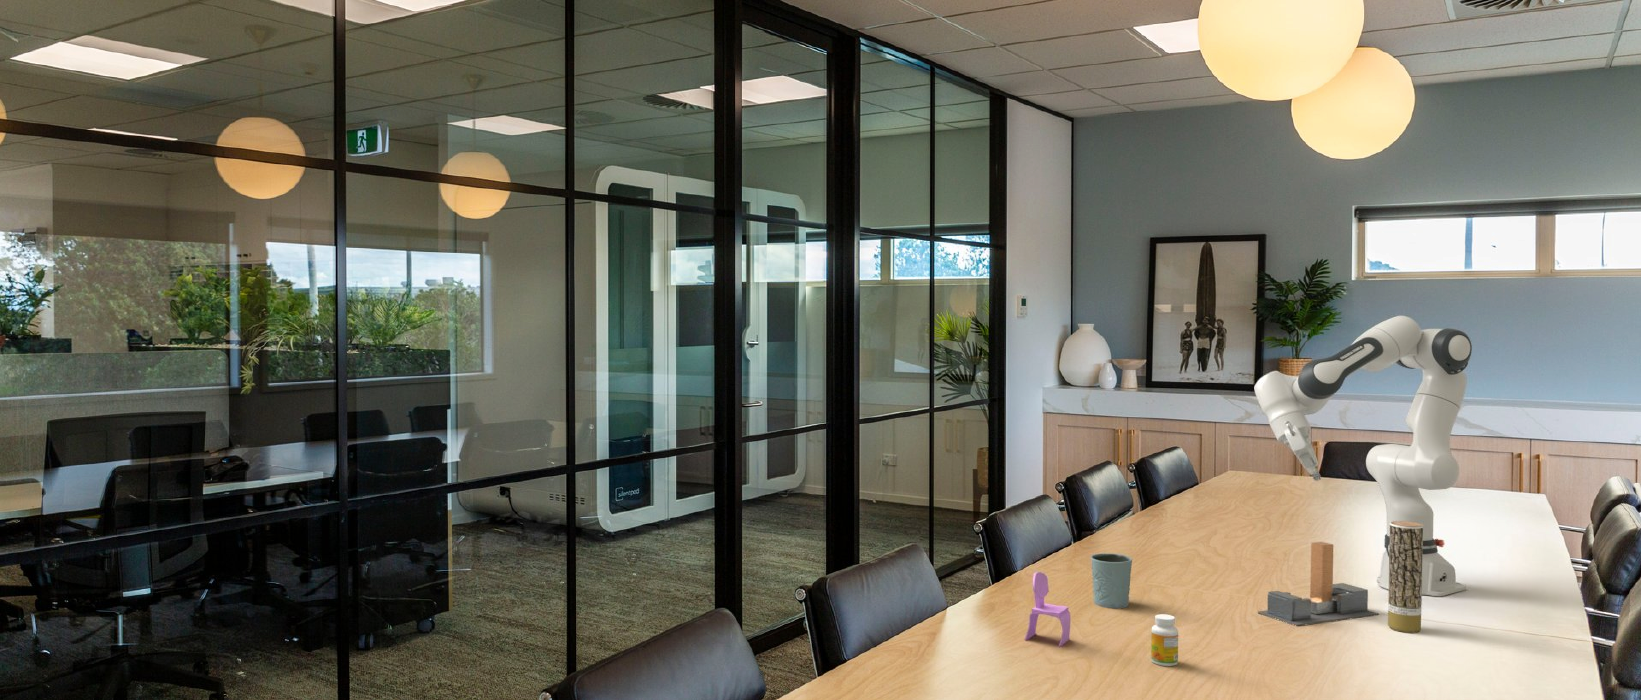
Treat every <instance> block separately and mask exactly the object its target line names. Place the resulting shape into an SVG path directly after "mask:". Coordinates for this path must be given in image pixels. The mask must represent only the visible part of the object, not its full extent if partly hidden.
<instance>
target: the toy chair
mask: <svg viewBox="0 0 1641 700" xmlns="http://www.w3.org/2000/svg"><path fill="white" fill-rule="evenodd" d="M1032 590H1033V593H1034V594H1033V595H1034V602H1035V606H1034V607H1032V608H1031V612H1030V614H1029V618H1028V622H1029V623H1028V628H1027V631H1026V634H1025V638H1024V641H1027V640H1029V639H1030V638H1032V637H1033V636H1035V635H1036V633H1037V632H1036V631H1037V623H1038V619H1039V615H1044V616H1049V617H1054V618H1057V619H1058V620H1059V622H1060V625H1061V630H1062V632H1061V637H1060V641H1059V644H1058V647H1059V648H1060V647H1062V646H1063V645H1064V644H1065V643H1067V642H1068V641H1069V640H1070V634H1071V633H1070V631H1071V612H1070V611H1069V606H1065V605H1055V604H1051V603H1045V598H1046V597H1047V595H1048V594H1049V580H1048V577H1047V574H1046V573H1044V572H1042V571H1036V572H1034V573H1033V577H1032Z"/></svg>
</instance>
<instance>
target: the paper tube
mask: <svg viewBox="0 0 1641 700" xmlns="http://www.w3.org/2000/svg"><path fill="white" fill-rule="evenodd" d="M1422 555H1423V525H1422V524H1419V523H1414V522H1406V521H1392V522H1390V541H1389V589H1388V598H1387V599H1388V600H1387V601H1388V605H1387V611H1388V612H1387V614H1388V615H1387V625H1388V627H1389V628H1390V629H1392V630H1394V631H1397V632H1401V633H1411V634H1412V633H1418V632H1420V631H1421V629H1422V606H1423V605H1422V604H1423V603H1422V601H1423V600H1422V599H1423V598H1422V597H1423V596H1422Z"/></svg>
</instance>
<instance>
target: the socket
mask: <svg viewBox="0 0 1641 700" xmlns="http://www.w3.org/2000/svg"><path fill="white" fill-rule="evenodd" d="M1267 610H1268V611H1267V614H1270V615H1273V616H1276V617H1279V618H1282V619H1285V620H1288V621H1291V622H1292V621H1300V620H1307V619H1311V599H1310V598H1309V597H1307V598H1306V597H1304V598H1302V597H1299V596H1296V595H1293V594H1291V592H1288V591H1284V592H1283V591H1281V590H1280V591H1279V590H1274V591H1273V590H1272V591H1268V593H1267Z"/></svg>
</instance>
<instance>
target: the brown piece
mask: <svg viewBox="0 0 1641 700" xmlns="http://www.w3.org/2000/svg"><path fill="white" fill-rule="evenodd" d="M1310 545H1311V546H1310V547H1311V548H1310V586H1309V587H1310V591H1309V592H1310V593H1309V596H1310V597H1309V599H1311V613H1315V614H1321V613H1329V612H1337V595H1335V596H1332V593H1333V584H1334V582H1333V581H1334V544H1333V543H1329V542H1325V541H1315V542H1311V543H1310Z"/></svg>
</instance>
